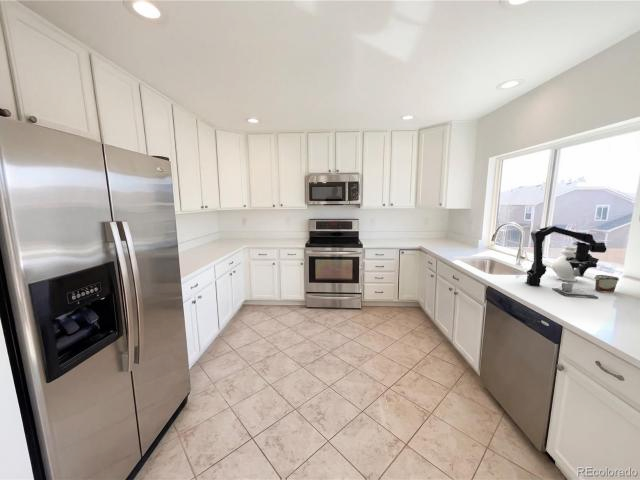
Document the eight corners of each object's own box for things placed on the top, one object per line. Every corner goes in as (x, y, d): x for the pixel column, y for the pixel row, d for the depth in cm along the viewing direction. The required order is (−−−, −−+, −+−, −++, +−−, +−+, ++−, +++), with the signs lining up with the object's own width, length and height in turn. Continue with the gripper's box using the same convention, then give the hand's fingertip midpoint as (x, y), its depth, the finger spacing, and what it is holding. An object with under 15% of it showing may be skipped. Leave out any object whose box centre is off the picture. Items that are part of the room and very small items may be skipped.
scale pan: (565, 293, 155) (565, 292, 155) (555, 288, 164) (555, 287, 164) (594, 296, 152) (594, 294, 151) (583, 290, 160) (583, 289, 160)
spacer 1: (564, 291, 157) (566, 284, 156) (558, 288, 162) (560, 281, 161) (573, 292, 156) (575, 284, 155) (567, 289, 161) (568, 282, 160)
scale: (564, 296, 154) (564, 294, 154) (552, 289, 166) (552, 287, 166) (598, 298, 150) (598, 297, 150) (583, 291, 161) (583, 290, 161)
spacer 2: (576, 276, 164) (577, 269, 163) (570, 274, 169) (572, 267, 168) (585, 276, 163) (586, 269, 162) (579, 274, 167) (581, 267, 167)
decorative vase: (543, 275, 195) (548, 245, 191) (564, 274, 196) (569, 244, 192) (566, 283, 178) (572, 249, 174) (589, 282, 179) (595, 249, 175)
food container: (606, 288, 166) (609, 274, 164) (616, 292, 160) (619, 277, 158) (586, 288, 167) (589, 274, 166) (595, 291, 161) (598, 277, 160)
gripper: (609, 255, 152) (605, 279, 155) (586, 249, 170) (582, 270, 172) (587, 254, 155) (583, 278, 157) (566, 248, 173) (563, 269, 175)
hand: (578, 274), depth 166 cm, fingers closed on spacer 2, 5 cm apart
